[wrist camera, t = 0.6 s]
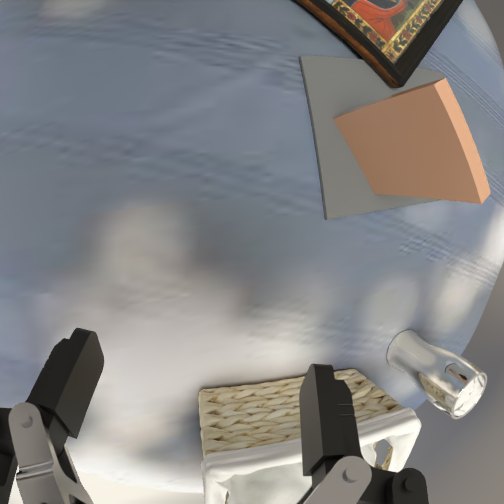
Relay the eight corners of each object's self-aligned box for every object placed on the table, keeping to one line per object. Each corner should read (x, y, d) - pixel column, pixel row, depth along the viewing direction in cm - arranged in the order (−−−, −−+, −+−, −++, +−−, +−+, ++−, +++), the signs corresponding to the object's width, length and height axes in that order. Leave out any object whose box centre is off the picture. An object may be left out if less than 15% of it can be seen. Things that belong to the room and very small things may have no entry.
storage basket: (364, 358, 41) (430, 416, 26) (344, 440, 44) (389, 499, 29) (188, 379, 35) (200, 472, 21) (196, 464, 38) (211, 545, 24)
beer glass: (391, 327, 40) (465, 377, 26) (424, 325, 42) (494, 366, 28) (378, 370, 42) (442, 427, 27) (411, 365, 43) (474, 412, 29)
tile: (374, 194, 35) (481, 203, 20) (333, 119, 32) (433, 84, 17) (385, 185, 35) (491, 191, 20) (345, 112, 32) (446, 77, 17)
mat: (298, 57, 31) (300, 55, 30) (441, 73, 35) (443, 73, 35) (324, 219, 35) (327, 219, 34) (459, 196, 40) (462, 196, 39)
